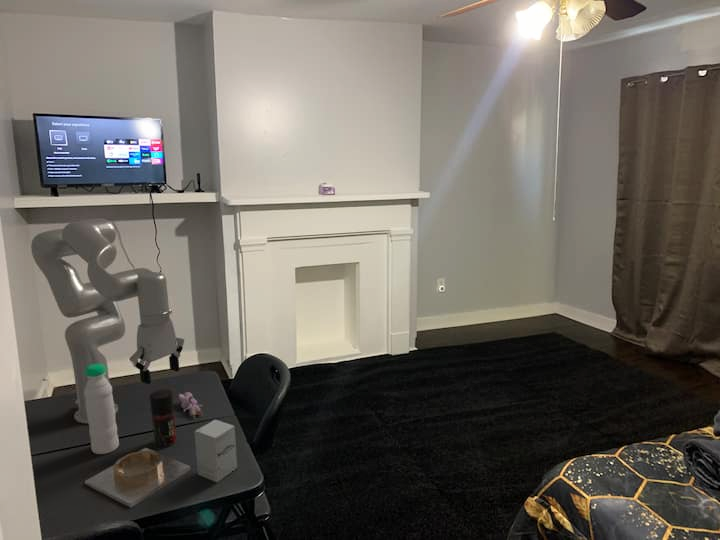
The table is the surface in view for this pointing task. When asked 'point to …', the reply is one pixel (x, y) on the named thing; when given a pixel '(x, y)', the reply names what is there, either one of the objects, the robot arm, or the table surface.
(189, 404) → the pink plush toy
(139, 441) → the table surface
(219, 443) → the supplement box
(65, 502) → the table surface
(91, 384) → the water bottle
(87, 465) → the table surface
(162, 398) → the deodorant
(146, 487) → the base
